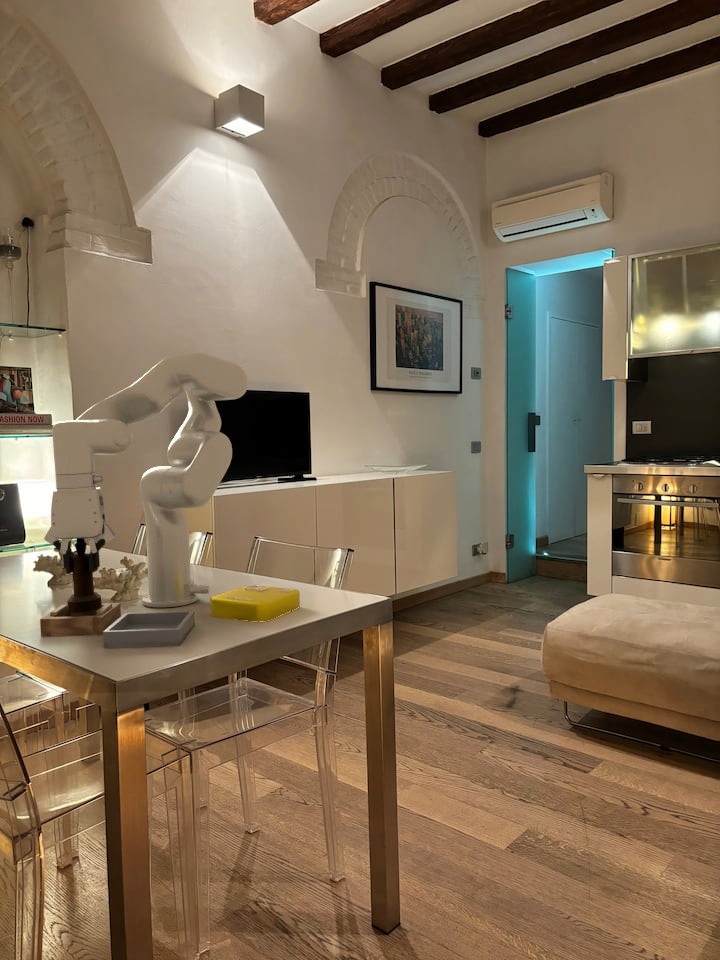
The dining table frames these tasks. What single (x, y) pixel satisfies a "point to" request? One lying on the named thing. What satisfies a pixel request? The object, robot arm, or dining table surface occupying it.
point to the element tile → (254, 603)
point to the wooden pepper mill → (82, 582)
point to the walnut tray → (79, 621)
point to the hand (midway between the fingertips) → (82, 570)
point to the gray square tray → (149, 629)
